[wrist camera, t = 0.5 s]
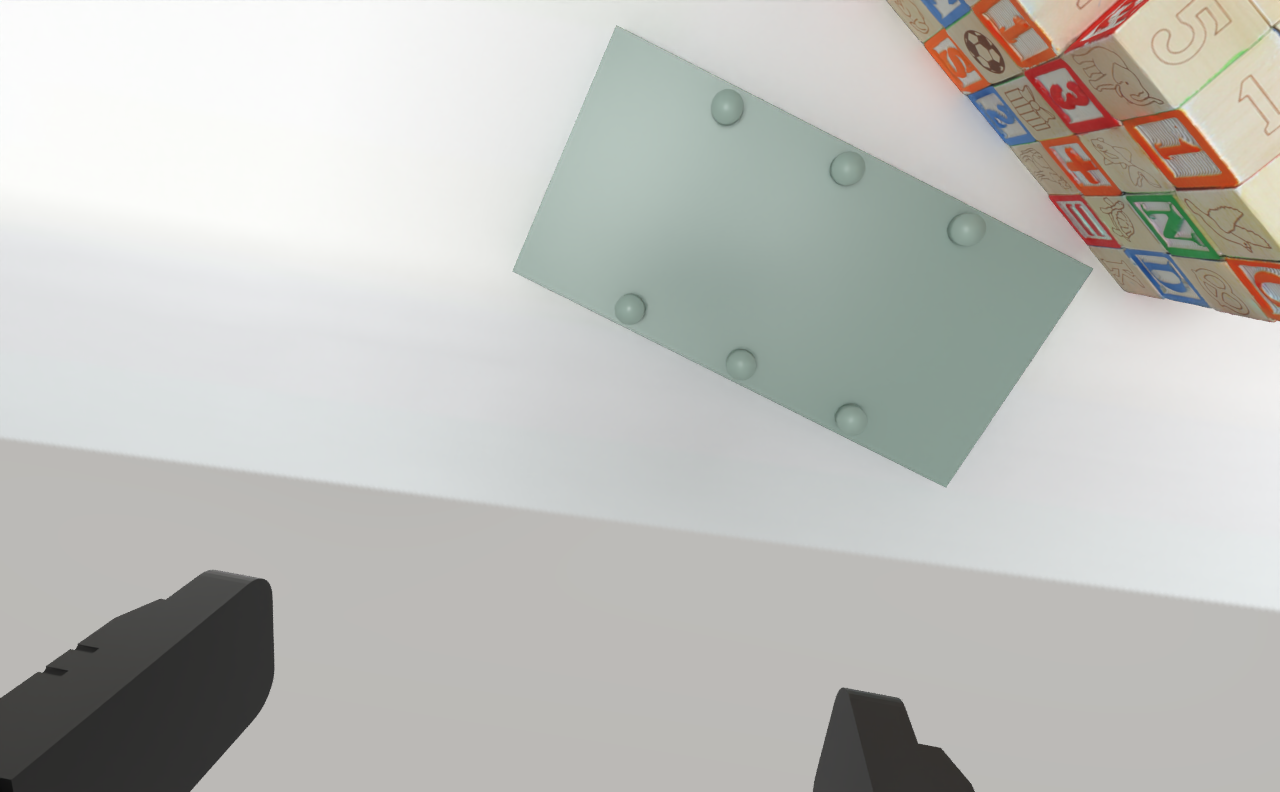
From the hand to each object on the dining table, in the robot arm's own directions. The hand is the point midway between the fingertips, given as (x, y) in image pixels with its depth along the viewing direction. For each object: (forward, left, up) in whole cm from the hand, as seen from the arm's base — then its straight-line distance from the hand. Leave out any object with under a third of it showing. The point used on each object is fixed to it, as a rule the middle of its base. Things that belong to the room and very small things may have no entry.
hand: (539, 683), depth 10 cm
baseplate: (-6, +4, -27) cm, 28 cm away
